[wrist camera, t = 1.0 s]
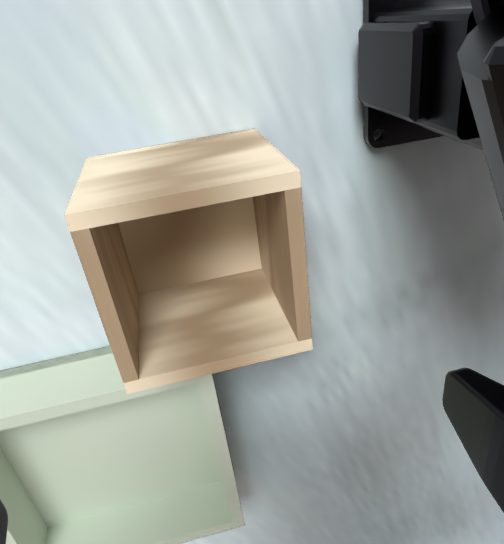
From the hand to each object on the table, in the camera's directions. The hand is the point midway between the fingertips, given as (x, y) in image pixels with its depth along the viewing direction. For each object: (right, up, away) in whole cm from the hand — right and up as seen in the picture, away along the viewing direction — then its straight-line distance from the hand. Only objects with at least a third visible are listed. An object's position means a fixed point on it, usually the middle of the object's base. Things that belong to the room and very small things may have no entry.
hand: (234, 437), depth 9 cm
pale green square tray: (-7, -5, +15) cm, 17 cm away
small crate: (-2, +5, +10) cm, 12 cm away
